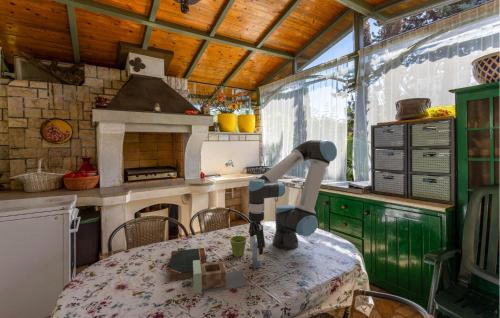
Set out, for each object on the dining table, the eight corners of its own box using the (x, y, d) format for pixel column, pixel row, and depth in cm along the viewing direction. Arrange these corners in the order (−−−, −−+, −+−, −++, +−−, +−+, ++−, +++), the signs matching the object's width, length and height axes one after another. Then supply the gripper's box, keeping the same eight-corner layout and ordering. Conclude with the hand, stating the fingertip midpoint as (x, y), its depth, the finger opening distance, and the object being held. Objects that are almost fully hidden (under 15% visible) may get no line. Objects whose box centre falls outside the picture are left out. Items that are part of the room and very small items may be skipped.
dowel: (259, 263, 125) (259, 240, 124) (261, 267, 121) (261, 243, 120) (251, 264, 124) (251, 241, 123) (253, 268, 120) (253, 244, 119)
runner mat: (241, 270, 118) (241, 270, 118) (248, 285, 105) (248, 285, 105) (199, 276, 113) (199, 275, 113) (201, 293, 100) (201, 292, 100)
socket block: (222, 273, 114) (222, 261, 114) (225, 285, 104) (225, 272, 104) (200, 277, 111) (199, 263, 111) (201, 289, 102) (201, 275, 101)
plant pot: (244, 259, 130) (244, 242, 129) (227, 257, 132) (227, 241, 131) (248, 251, 139) (248, 236, 138) (232, 250, 141) (232, 235, 140)
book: (171, 257, 133) (169, 282, 109) (171, 250, 133) (168, 274, 109) (204, 253, 138) (209, 276, 114) (204, 247, 138) (208, 268, 113)
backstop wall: (200, 277, 112) (199, 259, 112) (201, 292, 101) (201, 273, 100) (193, 278, 112) (192, 260, 111) (194, 293, 100) (193, 274, 100)
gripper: (243, 205, 132) (243, 245, 133) (256, 219, 108) (255, 267, 109) (256, 205, 134) (256, 243, 135) (272, 218, 110) (272, 265, 111)
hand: (256, 254), depth 122 cm, fingers open, 13 cm apart
